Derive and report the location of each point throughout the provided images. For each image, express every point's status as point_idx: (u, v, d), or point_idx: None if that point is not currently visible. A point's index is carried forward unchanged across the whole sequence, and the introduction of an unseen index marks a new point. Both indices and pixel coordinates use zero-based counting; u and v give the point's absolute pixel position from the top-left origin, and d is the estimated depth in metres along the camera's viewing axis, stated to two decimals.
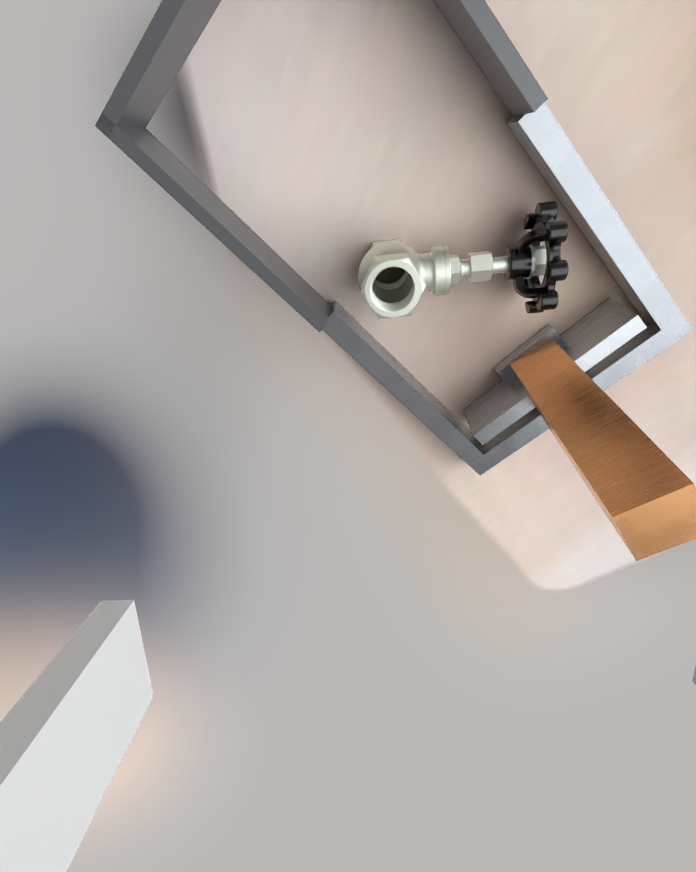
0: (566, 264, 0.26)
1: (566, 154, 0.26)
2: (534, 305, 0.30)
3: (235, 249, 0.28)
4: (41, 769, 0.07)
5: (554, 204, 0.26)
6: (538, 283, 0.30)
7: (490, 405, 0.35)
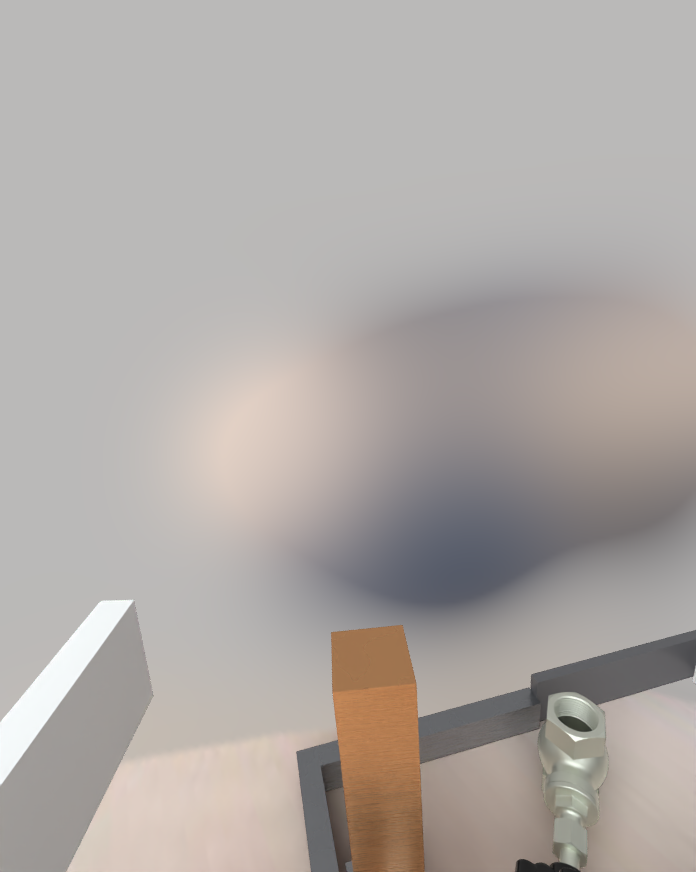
0: None
1: None
2: None
3: (613, 655, 0.36)
4: (41, 770, 0.07)
5: None
6: None
7: None
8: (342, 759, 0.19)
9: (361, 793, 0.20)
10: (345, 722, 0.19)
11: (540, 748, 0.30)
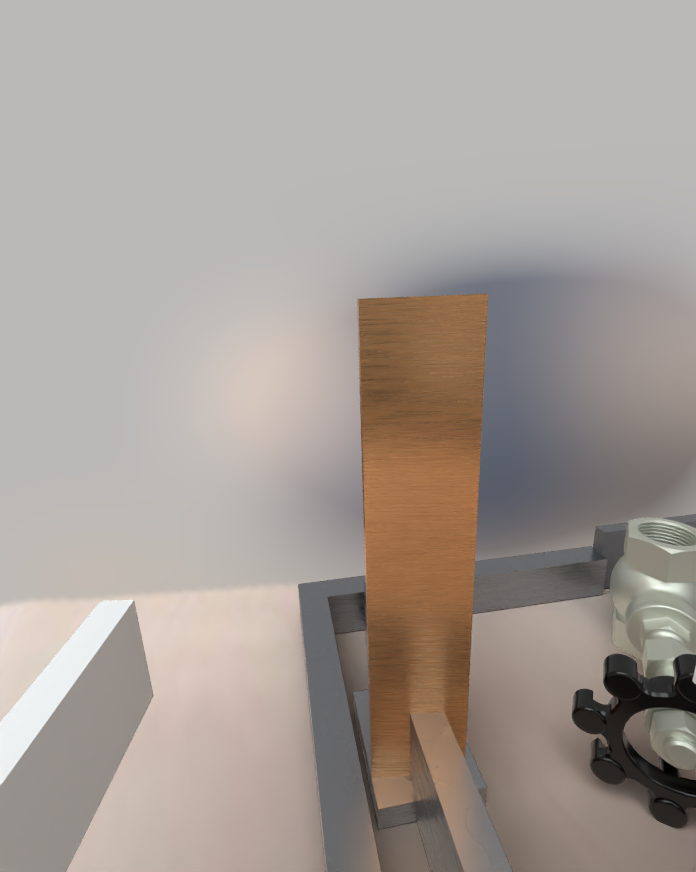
0: None
1: None
2: None
3: None
4: (41, 770, 0.07)
5: None
6: (624, 742, 0.16)
7: None
8: (365, 433, 0.13)
9: (389, 500, 0.14)
10: (374, 361, 0.12)
11: (615, 583, 0.23)
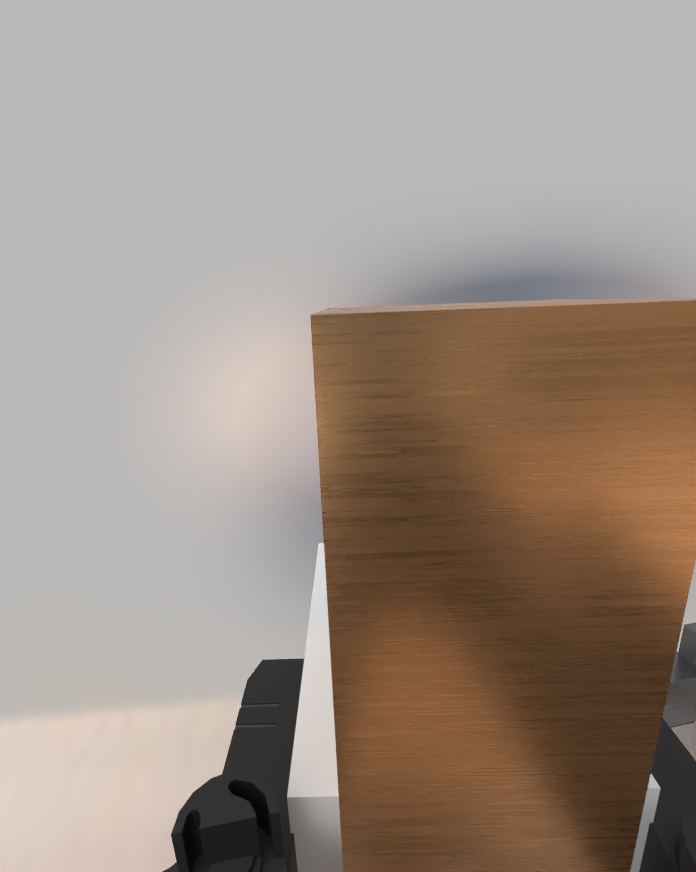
0: None
1: None
2: None
3: None
4: None
5: None
6: None
7: None
8: (341, 690, 0.05)
9: (407, 835, 0.05)
10: (365, 506, 0.04)
11: None
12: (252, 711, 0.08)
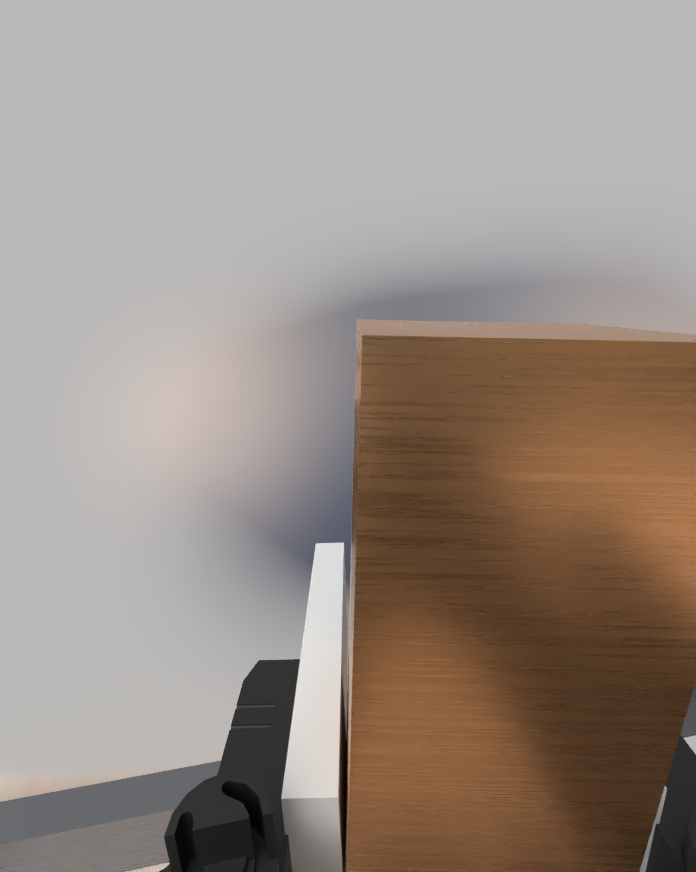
0: None
1: None
2: None
3: None
4: (343, 655, 0.09)
5: None
6: None
7: None
8: (360, 706, 0.05)
9: (413, 852, 0.05)
10: (400, 526, 0.04)
11: None
12: (248, 712, 0.08)
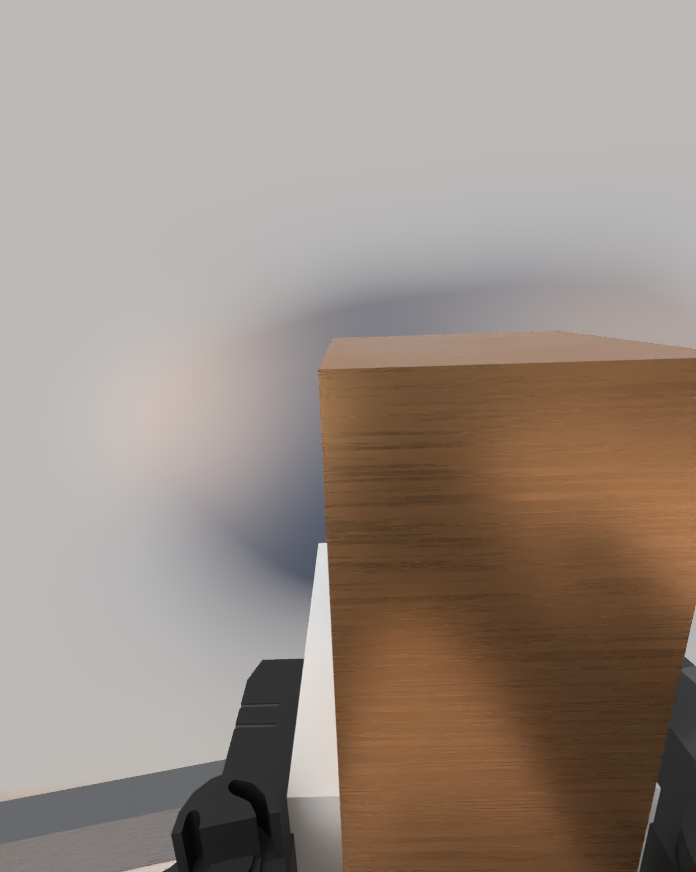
0: None
1: None
2: None
3: None
4: None
5: None
6: None
7: None
8: (345, 728, 0.05)
9: (408, 868, 0.05)
10: (370, 552, 0.04)
11: None
12: (252, 711, 0.08)
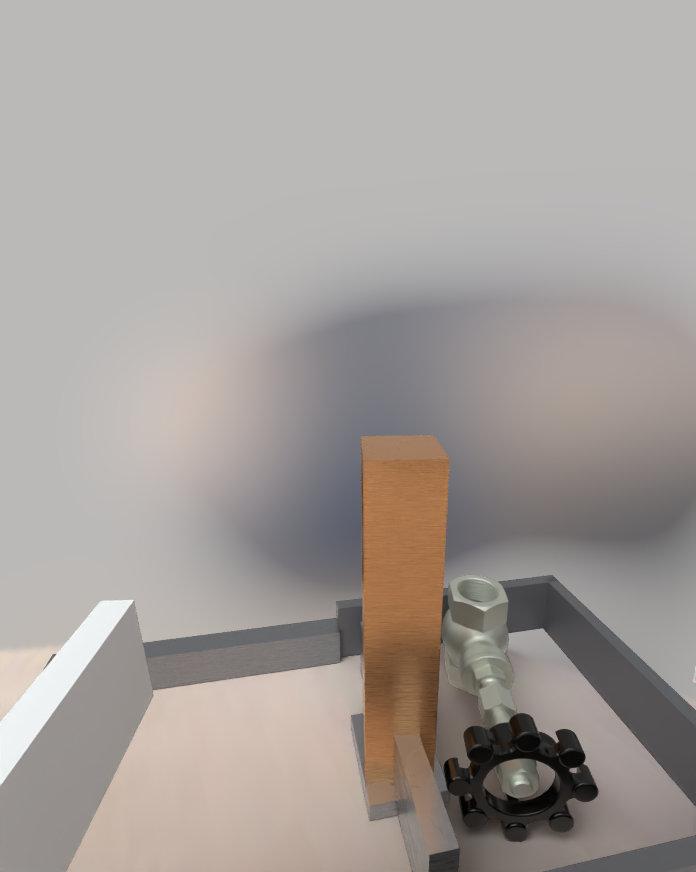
0: (537, 734, 0.19)
1: None
2: None
3: None
4: (41, 770, 0.07)
5: (595, 783, 0.20)
6: (483, 792, 0.20)
7: None
8: (365, 544, 0.19)
9: (381, 587, 0.19)
10: (372, 498, 0.18)
11: (447, 637, 0.29)
12: None
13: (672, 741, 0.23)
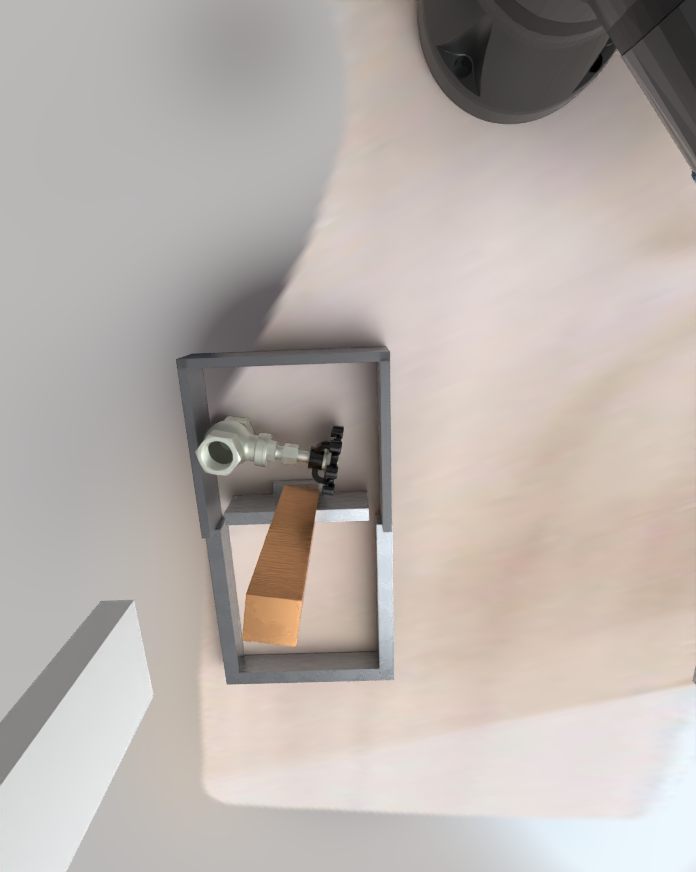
0: (336, 469, 0.37)
1: (387, 554, 0.44)
2: None
3: (194, 465, 0.40)
4: (41, 770, 0.07)
5: (341, 428, 0.39)
6: None
7: (252, 503, 0.43)
8: None
9: None
10: (299, 623, 0.30)
11: None
12: None
13: None
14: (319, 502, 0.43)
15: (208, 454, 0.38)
